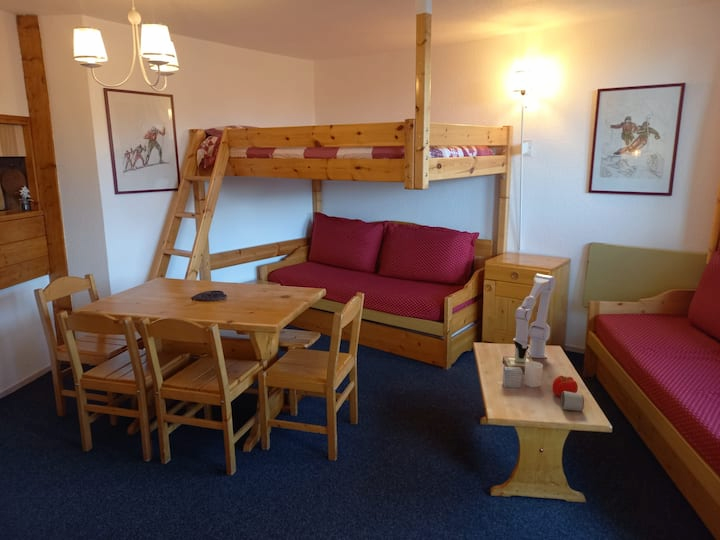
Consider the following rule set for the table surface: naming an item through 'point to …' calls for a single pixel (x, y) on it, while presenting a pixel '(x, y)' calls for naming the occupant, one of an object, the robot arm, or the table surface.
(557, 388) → the tomato
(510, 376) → the medicine box
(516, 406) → the table surface
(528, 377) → the white cup
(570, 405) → the grey cylinder
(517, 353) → the sage block
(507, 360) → the plinth
